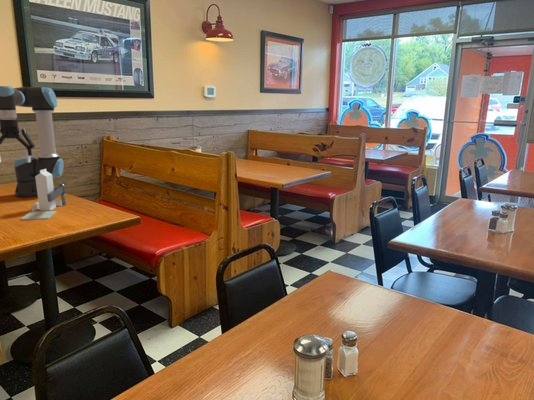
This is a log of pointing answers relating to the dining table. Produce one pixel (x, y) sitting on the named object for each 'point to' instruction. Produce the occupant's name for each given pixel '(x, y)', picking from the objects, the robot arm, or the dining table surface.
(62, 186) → the dark grey metallic bar
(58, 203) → the bracket
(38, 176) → the milk
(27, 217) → the mat
